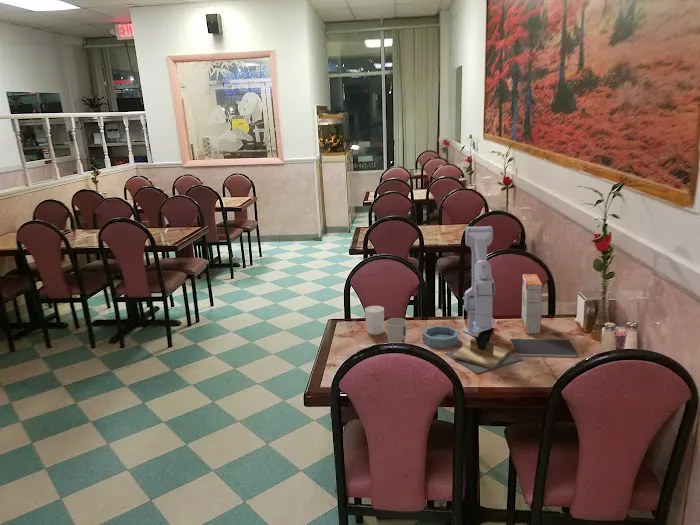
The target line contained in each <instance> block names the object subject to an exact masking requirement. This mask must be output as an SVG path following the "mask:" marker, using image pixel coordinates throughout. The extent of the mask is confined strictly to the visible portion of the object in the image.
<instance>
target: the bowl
mask: <svg viewBox="0 0 700 525" xmlns="http://www.w3.org/2000/svg"><path fill="white" fill-rule="evenodd" d="M423 342H424V344H425V343H426V344H425V345H427V346H428V347H429V348H437V347H438V348H439V349H447V348H446V347H448V348H451V347H453V345H455V346H457V345H458V343H457V342H459V330H458V329H455V328H454V327H452V326H448V325H447V326H446V325H433V326H429V327H425V328H424V329H423V332H422V343H423ZM456 344H457V345H456ZM450 346H451V347H450Z"/></svg>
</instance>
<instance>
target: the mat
mask: <svg viewBox="0 0 700 525" xmlns="http://www.w3.org/2000/svg"><path fill="white" fill-rule="evenodd" d="M489 343H491V342H490V341H489ZM494 346H496V347H498V346H497V345H495V344H494ZM458 350H459V349H457V350H452V351H450V352H446V353H444V355H445V354H446V355H445V356H447V355H448V356H450V357H451V360H453V359H454V360H453V361H455V362H457V363H458V362H459V363H458V364H460V365H461V366H463V367H465V368H466V369H469V371H472V372H473V373H475V374H476V373H477V375H480V374H483V373H485V372H486V373H487V372H490V371H491V370H495V369H498V368H501V367H505V366H508V365H512V364H515V363H518V362H521V361H523V358H521V357H520V356H518V355H516V354H513V353H511V352H510V353H509V354H508V355H507V356H506V357H505V358H504V359H502V360H501V361H500V362H499V363H498V364H497V365H496V366H495V367H494V368H493V369H492V368H488V367H485V366H482V365H478V364H475V363H471V362H468V361H465V360H461V359H458V358H455V357H453V354H454V353H455V352H457V351H458ZM448 356H447V357H448ZM450 357H449V358H450Z"/></svg>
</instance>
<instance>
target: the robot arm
mask: <svg viewBox="0 0 700 525" xmlns="http://www.w3.org/2000/svg"><path fill="white" fill-rule="evenodd" d="M493 229H494V228H493V227H492V226H491V225H488V226H487V225H486V226H485V225H484V226H483V225H482V226H466V227H465V228H464V230H465V232H464V233H465V234H464V236H465V237H464V238H465V246H466V247H470V251H471V287H470V288H468V289H467V290H465V292H464V298H463V301H464V302H463V306H464V310H465V312H467V328H464V329H462V332H465V333H466V334H469V335H470V336H472V337H474V339H476V341H477V345H478V349H479V350H483V351H484V350H485V347H486V342H488V343H489V342H490V340H491V337H492V335H493V333H494V331H495V328H494V327H493V326H494V324H495V318H493V301H494V300H493V298H494V295H495V291H496V290H495V289H496V287H495V286H496V285H495V281H494V277H492V276H493V275H492V266H491V263H490V262H489V261H488V246H491V244H492V242H493V239H494V231H493Z"/></svg>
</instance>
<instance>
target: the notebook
mask: <svg viewBox="0 0 700 525" xmlns="http://www.w3.org/2000/svg"><path fill="white" fill-rule="evenodd" d="M510 342H511V345H512V348H513V351H514V355H515V356H517V357H520V356H521V357H522V356H523V357H524V356H525V357H526V356H527V357H557V358H558V357H559V358H560V357H561V358H562V357H564V358H566V357H569V358H576V357H578V351H576V348H575V347H574V345H573V344H572V342H571V341H570V339H543V338H541V339H537V338H535V339H533V338H531V339H529V338H510Z"/></svg>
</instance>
